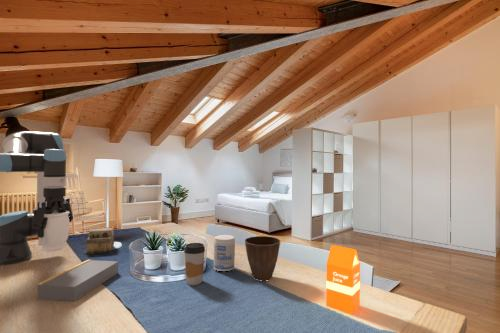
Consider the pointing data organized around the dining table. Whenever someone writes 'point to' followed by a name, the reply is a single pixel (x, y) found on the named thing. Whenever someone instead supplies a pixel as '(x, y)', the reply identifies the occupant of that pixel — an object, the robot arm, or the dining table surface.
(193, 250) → the coffee cup
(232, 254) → the supplement tub
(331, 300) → the orange juice
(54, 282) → the dock
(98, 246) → the wicker basket
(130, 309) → the dining table surface
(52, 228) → the jar
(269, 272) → the plant pot
